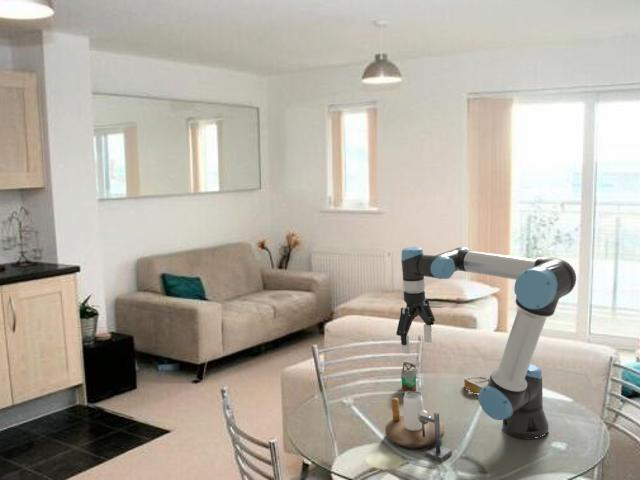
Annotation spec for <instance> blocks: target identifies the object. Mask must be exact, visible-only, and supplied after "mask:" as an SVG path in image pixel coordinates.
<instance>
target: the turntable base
mask: <svg viewBox="0 0 640 480" xmlns="http://www.w3.org/2000/svg"><path fill="white" fill-rule="evenodd" d="M391 442H392V444H393V445H395V446H396V447H398V448H401V449H404V450H409V451H410V450H411V451H421V450H427V449H431V448H432V447H434V446H435V445H436V442H434V443H431V444H428V445H422V446H407V445H401V444H398V443H395V442H393V441H391Z"/></svg>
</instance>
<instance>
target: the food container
mask: <svg viewBox="0 0 640 480" xmlns="http://www.w3.org/2000/svg"><path fill="white" fill-rule="evenodd" d="M402 364H403V365H402V371H401V372H400V377H401V390H402V391H401V392H402V396H405V395H404V394H405V393H406V392H409V391H417V374H418V368H417V365H416V364H414V363H412V362H407V361H403V363H402Z"/></svg>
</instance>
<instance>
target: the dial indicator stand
mask: <svg viewBox="0 0 640 480" xmlns="http://www.w3.org/2000/svg"><path fill="white" fill-rule="evenodd" d="M430 415H431V414H430V413H429V412H428V411H427V410H425V409H423V410H421V411H420V412H419V413H418V419H419V421H420V422H421V423H422V434H423V437H425V426H424V424H427V423H429V422H433V423H434V424H435V442H436V444H435V445H434V446H432V447H430V448H428V450H426V451H425V452H424V453H425V458H428V459H432V460H434V461H437V462H440V463H443V462H444V461H445V460H446V459H448V458H449V457H450V456H452V455H453V453H452V452H453V451H452V449H450V448H447V447H443V446H442V445H441V439H440V423H439V421H440V413H439V412H434V413H433V416H430Z"/></svg>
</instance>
